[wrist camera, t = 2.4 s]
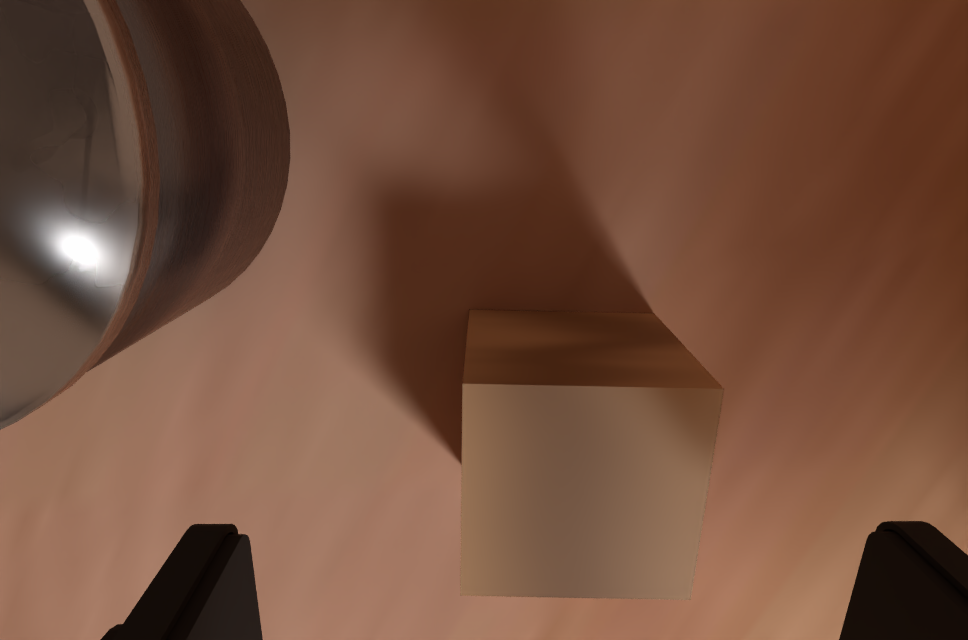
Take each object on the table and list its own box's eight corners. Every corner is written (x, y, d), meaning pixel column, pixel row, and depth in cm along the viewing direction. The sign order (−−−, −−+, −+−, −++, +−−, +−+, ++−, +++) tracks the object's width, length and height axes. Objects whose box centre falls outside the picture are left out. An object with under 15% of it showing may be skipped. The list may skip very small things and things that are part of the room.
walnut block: (652, 312, 16) (723, 389, 11) (635, 472, 17) (690, 600, 13) (469, 308, 16) (461, 383, 11) (467, 469, 17) (460, 595, 13)
